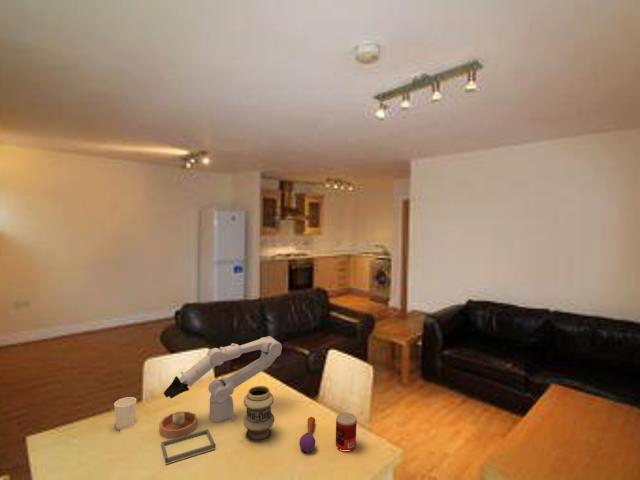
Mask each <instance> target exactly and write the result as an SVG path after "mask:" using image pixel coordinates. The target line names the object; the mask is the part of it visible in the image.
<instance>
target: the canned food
mask: <svg viewBox="0 0 640 480" xmlns="http://www.w3.org/2000/svg"><path fill="white" fill-rule="evenodd" d="M335 418H336V419H335V446H337V447H338V448H339V449H341V450H352V449H353V448H354V447H355V448H356V445H357V416H356V415H355V414H353V413H351V412H341V413H339V414H337V416H336V417H335ZM337 447H336V448H337ZM338 448H337V449H338ZM355 448H354V449H355ZM339 449H338V450H339ZM354 449H353V450H354ZM353 450H352V451H353Z"/></svg>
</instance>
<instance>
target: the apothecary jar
mask: <svg viewBox="0 0 640 480" xmlns="http://www.w3.org/2000/svg"><path fill="white" fill-rule="evenodd" d="M274 401H275V398H274V395H273V394H272V392H271V391H270V388H269V387H267V386H266V385H255V386H252V387H250V388H249V389H248V391H247V394H246V395H245V396H244V397H243V405H244V407H245V408H246V414H245V415H244V417H243V426H244V428H245V429H246V430H247V431H246V433H245V436H246V438H248V439H249V441H251V442H258V443H259V442H263V441H267V440H268V439H269V438H270V437H271V436H272V430H271V429H270V428H272V426H273V425H274V422H275V416H274V414H273V413H272V406H273V404H274Z"/></svg>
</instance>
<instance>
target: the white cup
mask: <svg viewBox="0 0 640 480" xmlns="http://www.w3.org/2000/svg"><path fill="white" fill-rule="evenodd" d="M113 405H114V420H115V428H116V430H119V431H121V429H125V428H128V427H131V426H133V425H134V424H135V422H136V415H137V414H136V412H137V398H136V397H133V396H129V397H128V396H126V397H122V398H120V399H117V400H116V401H115V402H114V404H113Z"/></svg>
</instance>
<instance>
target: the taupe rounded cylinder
mask: <svg viewBox="0 0 640 480" xmlns="http://www.w3.org/2000/svg"><path fill="white" fill-rule="evenodd" d="M184 412H185V411H176V412H174V414H173V430H177V429H181V428H184Z"/></svg>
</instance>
